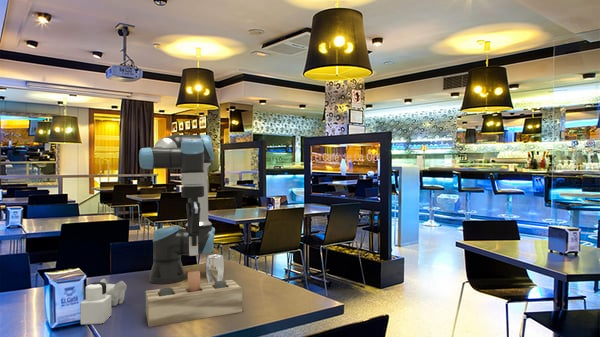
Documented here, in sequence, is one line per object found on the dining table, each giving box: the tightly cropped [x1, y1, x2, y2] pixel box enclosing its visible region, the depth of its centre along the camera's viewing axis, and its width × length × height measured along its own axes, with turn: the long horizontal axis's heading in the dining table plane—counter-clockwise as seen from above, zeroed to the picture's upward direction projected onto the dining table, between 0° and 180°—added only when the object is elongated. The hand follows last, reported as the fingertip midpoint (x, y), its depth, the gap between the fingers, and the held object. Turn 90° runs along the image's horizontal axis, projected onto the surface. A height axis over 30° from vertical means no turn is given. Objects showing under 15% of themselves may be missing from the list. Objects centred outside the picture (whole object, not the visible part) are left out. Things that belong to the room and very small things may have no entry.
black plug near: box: [159, 287, 173, 296], centre depth 134 cm, size 4×4×8 cm
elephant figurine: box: [99, 278, 128, 307], centre depth 148 cm, size 10×12×9 cm
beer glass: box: [205, 254, 225, 283], centre depth 158 cm, size 7×7×15 cm
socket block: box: [145, 279, 243, 328], centre depth 138 cm, size 12×30×8 cm, turn 115°
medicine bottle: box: [79, 281, 113, 325], centre depth 133 cm, size 7×7×12 cm
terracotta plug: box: [187, 269, 201, 293], centre depth 138 cm, size 4×4×8 cm
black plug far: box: [214, 280, 226, 289], centre depth 142 cm, size 4×4×8 cm
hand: (193, 255), depth 138 cm, fingers closed
